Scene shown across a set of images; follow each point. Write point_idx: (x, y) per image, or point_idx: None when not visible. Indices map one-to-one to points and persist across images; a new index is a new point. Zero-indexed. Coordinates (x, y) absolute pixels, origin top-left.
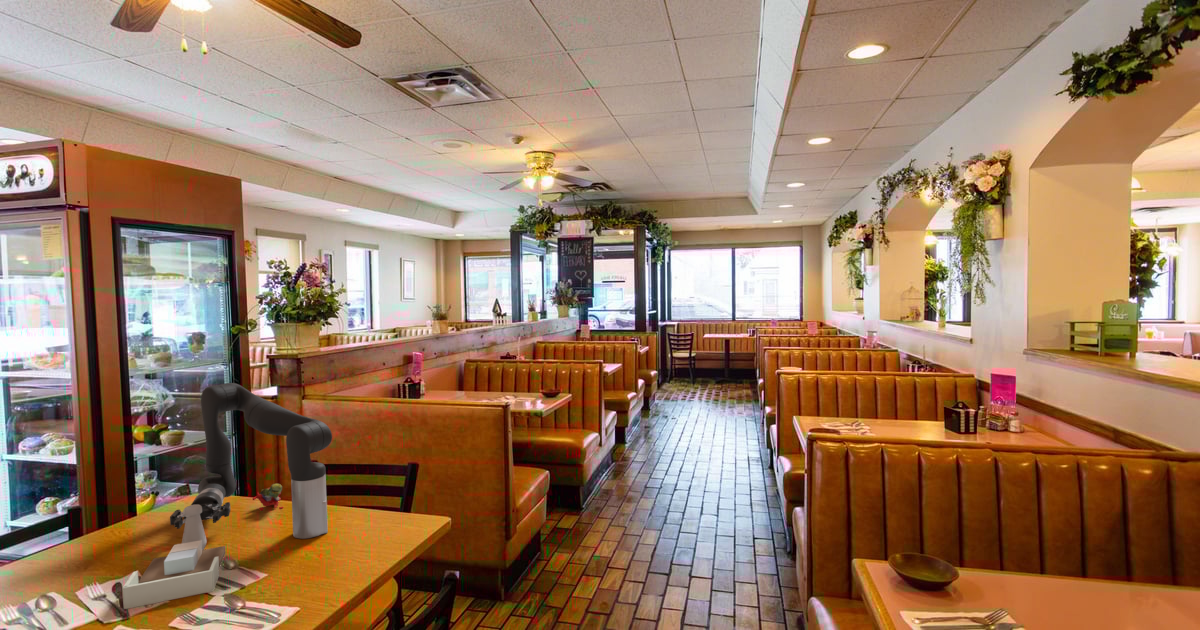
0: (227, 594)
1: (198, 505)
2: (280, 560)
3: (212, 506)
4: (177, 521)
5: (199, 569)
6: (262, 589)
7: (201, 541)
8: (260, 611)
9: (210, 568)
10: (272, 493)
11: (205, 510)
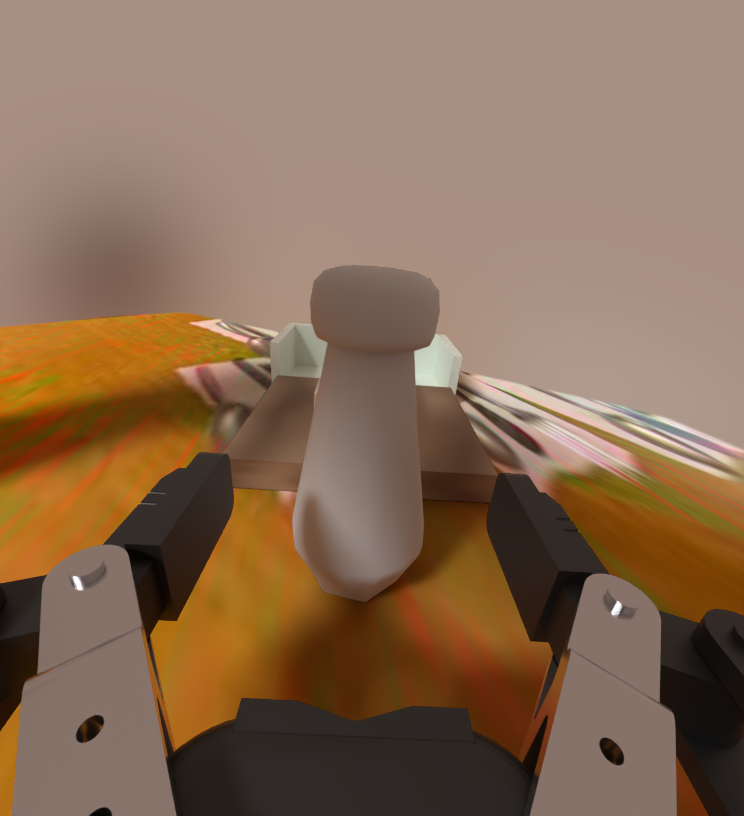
0: (268, 356)
1: (336, 268)
2: (110, 393)
3: (89, 747)
4: (518, 475)
5: (316, 382)
6: (211, 349)
7: (314, 398)
8: (236, 330)
9: (292, 326)
10: None
11: (266, 726)
